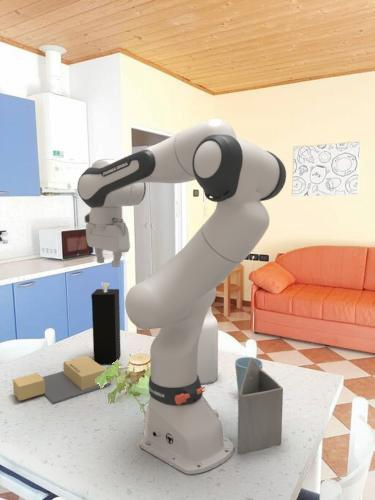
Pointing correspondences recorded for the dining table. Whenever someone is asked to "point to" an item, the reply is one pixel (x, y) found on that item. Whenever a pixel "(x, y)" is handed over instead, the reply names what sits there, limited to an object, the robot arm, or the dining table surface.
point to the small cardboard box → (28, 386)
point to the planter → (259, 410)
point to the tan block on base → (73, 380)
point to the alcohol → (208, 350)
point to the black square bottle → (106, 324)
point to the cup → (243, 369)
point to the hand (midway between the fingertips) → (107, 264)
